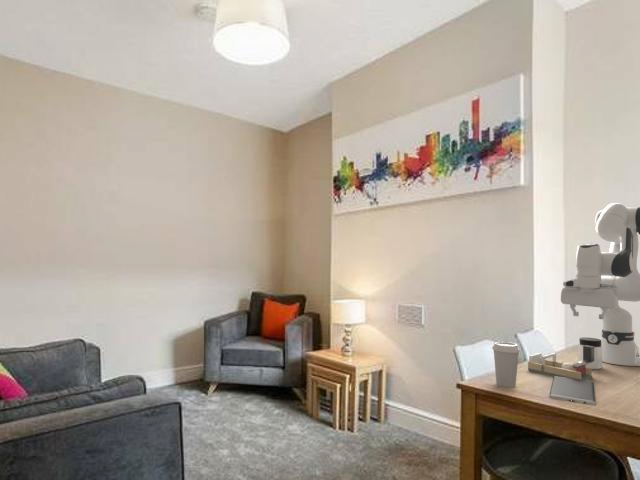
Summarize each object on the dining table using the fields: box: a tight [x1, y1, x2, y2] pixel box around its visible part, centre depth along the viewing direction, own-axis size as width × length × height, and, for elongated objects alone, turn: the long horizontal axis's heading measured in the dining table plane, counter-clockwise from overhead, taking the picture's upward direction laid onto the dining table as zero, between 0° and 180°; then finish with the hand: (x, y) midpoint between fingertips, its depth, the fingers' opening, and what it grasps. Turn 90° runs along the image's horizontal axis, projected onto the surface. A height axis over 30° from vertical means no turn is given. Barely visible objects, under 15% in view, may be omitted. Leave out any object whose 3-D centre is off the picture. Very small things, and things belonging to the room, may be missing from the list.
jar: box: [577, 336, 604, 370], centre depth 190 cm, size 9×8×12 cm
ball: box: [561, 362, 573, 370], centre depth 175 cm, size 4×4×4 cm
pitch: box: [527, 352, 593, 381], centre depth 178 cm, size 11×20×7 cm, turn 38°
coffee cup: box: [491, 341, 521, 388], centre depth 161 cm, size 10×10×15 cm
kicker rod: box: [571, 345, 594, 376], centre depth 173 cm, size 15×3×10 cm, turn 128°
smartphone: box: [548, 376, 596, 406], centre depth 156 cm, size 13×27×2 cm, turn 149°
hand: (588, 317), depth 177 cm, fingers open, 8 cm apart
